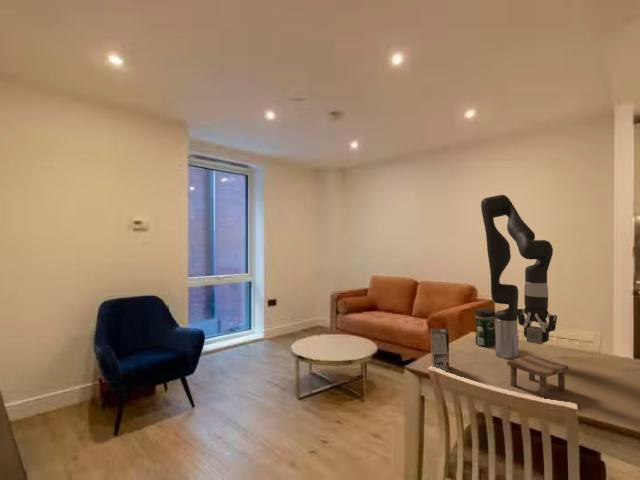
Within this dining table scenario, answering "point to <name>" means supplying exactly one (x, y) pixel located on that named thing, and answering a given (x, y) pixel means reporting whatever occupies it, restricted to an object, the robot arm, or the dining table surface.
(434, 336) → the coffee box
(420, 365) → the dining table surface
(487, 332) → the coffee jar
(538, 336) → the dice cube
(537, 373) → the footstool
